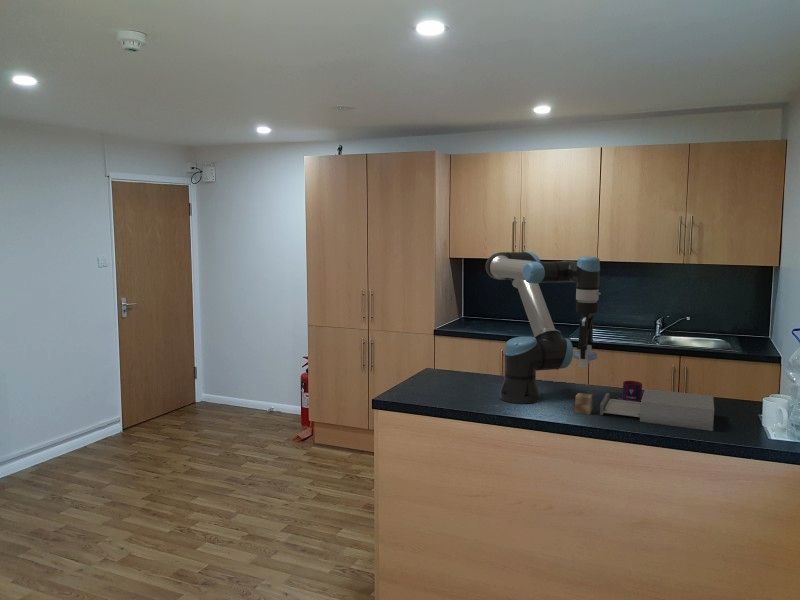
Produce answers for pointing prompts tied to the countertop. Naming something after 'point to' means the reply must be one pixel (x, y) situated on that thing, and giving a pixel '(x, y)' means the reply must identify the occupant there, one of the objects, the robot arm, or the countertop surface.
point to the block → (583, 403)
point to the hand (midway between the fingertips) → (584, 365)
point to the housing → (677, 409)
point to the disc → (589, 356)
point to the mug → (632, 391)
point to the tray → (619, 407)
